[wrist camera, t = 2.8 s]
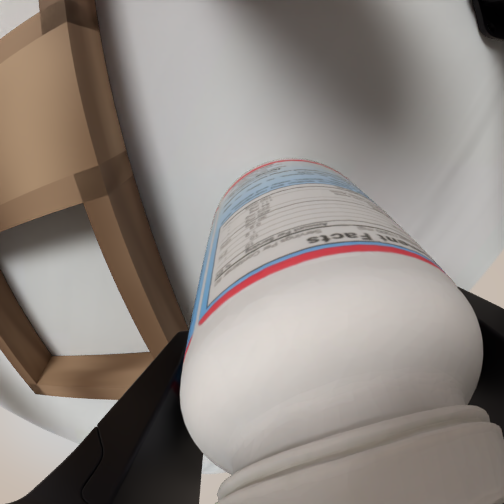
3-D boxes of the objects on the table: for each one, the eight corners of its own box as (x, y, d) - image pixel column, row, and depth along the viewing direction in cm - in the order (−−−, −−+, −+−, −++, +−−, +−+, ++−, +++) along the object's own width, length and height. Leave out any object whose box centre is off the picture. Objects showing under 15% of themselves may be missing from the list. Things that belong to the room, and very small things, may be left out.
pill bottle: (317, 309, 14) (376, 559, 4) (191, 262, 13) (128, 562, 3) (390, 197, 12) (590, 434, 2) (254, 125, 10) (355, 557, 1)
